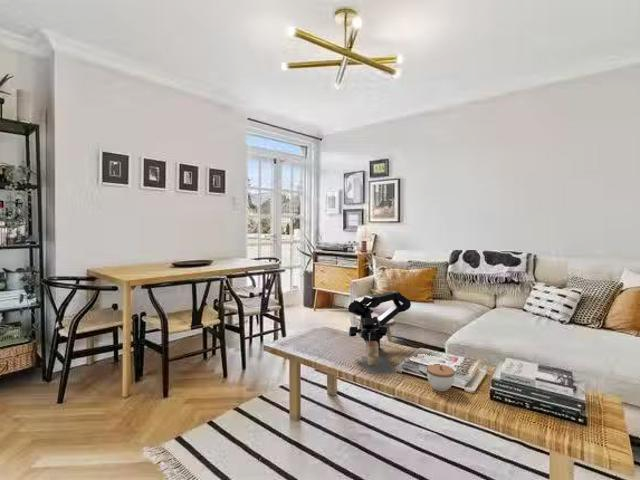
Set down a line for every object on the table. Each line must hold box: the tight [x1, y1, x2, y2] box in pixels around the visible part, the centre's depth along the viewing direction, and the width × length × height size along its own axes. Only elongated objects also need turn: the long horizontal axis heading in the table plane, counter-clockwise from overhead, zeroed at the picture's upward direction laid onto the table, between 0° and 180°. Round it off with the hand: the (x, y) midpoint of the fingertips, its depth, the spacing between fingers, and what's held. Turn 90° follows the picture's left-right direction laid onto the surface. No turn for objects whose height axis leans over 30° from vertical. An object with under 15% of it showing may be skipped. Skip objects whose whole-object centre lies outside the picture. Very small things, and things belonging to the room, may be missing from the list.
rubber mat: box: [360, 355, 396, 375], centre depth 173 cm, size 12×20×1 cm, turn 4°
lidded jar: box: [426, 364, 456, 392], centre depth 150 cm, size 11×11×9 cm
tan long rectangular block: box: [366, 341, 379, 365], centre depth 174 cm, size 4×4×10 cm
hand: (369, 347), depth 178 cm, fingers closed
